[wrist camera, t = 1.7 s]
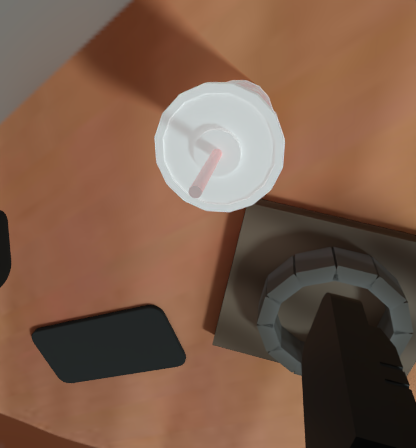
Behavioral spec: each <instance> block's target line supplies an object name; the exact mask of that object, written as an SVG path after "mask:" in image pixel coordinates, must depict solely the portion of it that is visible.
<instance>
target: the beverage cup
mask: <svg viewBox="0 0 416 448" xmlns="http://www.w3.org/2000/svg"><path fill="white" fill-rule="evenodd" d="M154 138H155V151H156V162H157V165H158V167H159V169H160V171H161V173H162V175H163V177H164V179H165V181H166V183H167V185H168V186H169V187H170V188H171V189H172V190H173V191H174V192H175V193H176V194H178V195H179V196H180V197H181V198H182V199H183V200H184V201H185V202H188V203H190V204H192V205H194V206H197V207H199V208H201V209H203V210H206V211H218V212H232V211H235V210H239V209H242V208H245V207H248V206H251V205H253V204H254V203H256V202H257V201H258V200H259V199H261V198H262V197H263V196H264V195H265V194H267V193H268V192H269V191H270V190H271V189H272V187H273V185H274V184H275V182H276V180H277V178H278V176H279V174H280V172H281V170H282V168H283V160H284V147H285V139H284V135H283V132H282V129H281V126H280V124H279V121H278V118H277V115H276V113H275V111H274V110H273V108H272V105H271V102H270V99H269V96H268V95H267V94H266V93H265V92H264V91H263V90H262V89H261V87H260V86H258V85H256V84H254V83H252V82H249V81H247V80H231V81H228V82H207V83H203V84H201V85H199V86H197V87H194V88H192V89H190V90H188V91H185V92H183V93H181V94H179V95H178V97H177V98H176V99H175V100H174V101H173V102H172V103H171V104H170V106H169V107H168V108H167V109H166V110H165V111H164V112H163V113H162V116H161V119H160V122H159V125H158V128H157V131H156V134H155V137H154Z"/></svg>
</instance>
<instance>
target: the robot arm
mask: <svg viewBox="0 0 416 448" xmlns="http://www.w3.org/2000/svg"><path fill="white" fill-rule="evenodd" d="M10 269H11V253H10V242H9V230H8V220H7V216H6V214H5V213H4V212H3V211H1V210H0V287H1V286H2V285H3V284H4V283H5V281H6V280H7V278H8V276H9V273H10ZM301 369H302V387H303V406H304V425H305V443H306V448H416V402H415V399H414V396H413V393H412V391H411V390H410V389H409V382H408V380H407V377H406V374H405V372H403V366H402V363H401V360H400V357H399V355H398V352H397V349H396V347H395V346H394V344H393V343H392V342H391V341H390V340H389V338H388V337H387V336H386V335H385V333H384V332H383V331H382V330H381V328H378V327H374V326H370V325H368V321H367V318H366V314H365V311H364V308H363V304H362V302H361V301H360V300H357V299H353V298H349V297H345V296H341V295H337V294H333V293H329V292H327V293H326V294H325V295H324V296H323V298H322V301H321V303H320V306H319V308H318V311H317V313H316V316H315V318H314V321H313V323H312V326H311V328H310V331H309V333H308V336H307V338H306V341H305V344H304V348H303V354H302V363H301Z"/></svg>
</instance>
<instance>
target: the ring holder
mask: <svg viewBox="0 0 416 448" xmlns="http://www.w3.org/2000/svg"><path fill="white" fill-rule="evenodd" d="M327 292H329V293H333V294H337V295H341V296H345V297H349V298H353V299H357V300H360V301H361V302H362V304H363V308H364V311H365V314H366V318H367V321H368V325H370V326H374V327H378V328H381V330H382V331H383V332H384V333H385V335H386V336H387V337H388V338H389V340H390V341H391V342H392V343H393V344H394V346H395V347H396V349H397V352H398V355H399V357H400V360H401V363H402V366H403V372H405V374H406V377H407V375H408V374H409V372H410V370H411V369H412V367H413V365H414V364H415V362H416V235H412V234H408V233H404V232H400V231H395V230H391V229H387V228H382V227H378V226H374V225H370V224H365V223H361V222H357V221H353V220H348V219H344V218H340V217H336V216H331V215H327V214H323V213H318V212H314V211H310V210H306V209H301V208H297V207H293V206H289V205H284V204H280V203H276V202H272V201H267V200H263V199H259V200H258V201H257V202H256V203H254V204H253V205H251V206H248V207H246V211H245V215H244V219H243V223H242V227H241V231H240V235H239V239H238V243H237V247H236V251H235V255H234V259H233V263H232V267H231V271H230V275H229V279H228V283H227V287H226V291H225V295H224V300H223V304H222V308H221V312H220V316H219V320H218V324H217V328H216V332H215V336H214V340H213V345H215V346H219V347H222V348H226V349H230V350H234V351H237V352H241V353H245V354H248V355H252V356H256V357H260V358H263V359H267V360H271V361H275V362H278V363H281V364H282V365H283V366H284V367H286V368H287V369H288V370H289V371H291V372H294V374H297V375H301V376H302V369H301V363H302V354H303V348H304V344H305V341H306V338H307V336H308V333H309V331H310V328H311V326H312V323H313V321H314V318H315V316H316V313H317V311H318V308H319V306H320V303H321V301H322V298H323V296H324V295H325V294H326V293H327Z"/></svg>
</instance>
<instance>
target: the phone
mask: <svg viewBox="0 0 416 448" xmlns="http://www.w3.org/2000/svg"><path fill="white" fill-rule="evenodd" d="M32 340H33V342H34V344H35V345H36V347H37V348H38V349H39V351H40V352H41V354H42V355H43V357H44V358H45V359H46V361H47V362H48V364H49V365H50V367H51V368H52V369H53V371H54V372H55V374H56V375H57V376H58V378H59V379H60V380H62V381H63V382H66V383H76V382H82V381H89V380H95V379H102V378H108V377H114V376H121V375H127V374H133V373H140V372H146V371H153V370H159V369H165V368H172V367H177V366H181V365H182V364H184V362H185V359H186V355H185V352H184V350H183V348H182V346H181V344H180V342H179V340H178V338H177V336H176V334H175V332H174V330H173V328H172V326H171V324H170V323H169V321H168V319H167V317H166V315H165V313H164V312H163V310H162V309H161V308H159V307H157V306H155V305H146V306H141V307H136V308H131V309H127V310H122V311H117V312H112V313H108V314H103V315H98V316H93V317H88V318H84V319H79V320H73V321H68V322H64V323H60V324H55V325H50V326H46V327H41V328H38V329H36V330H35V331H34V333H33V334H32Z"/></svg>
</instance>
